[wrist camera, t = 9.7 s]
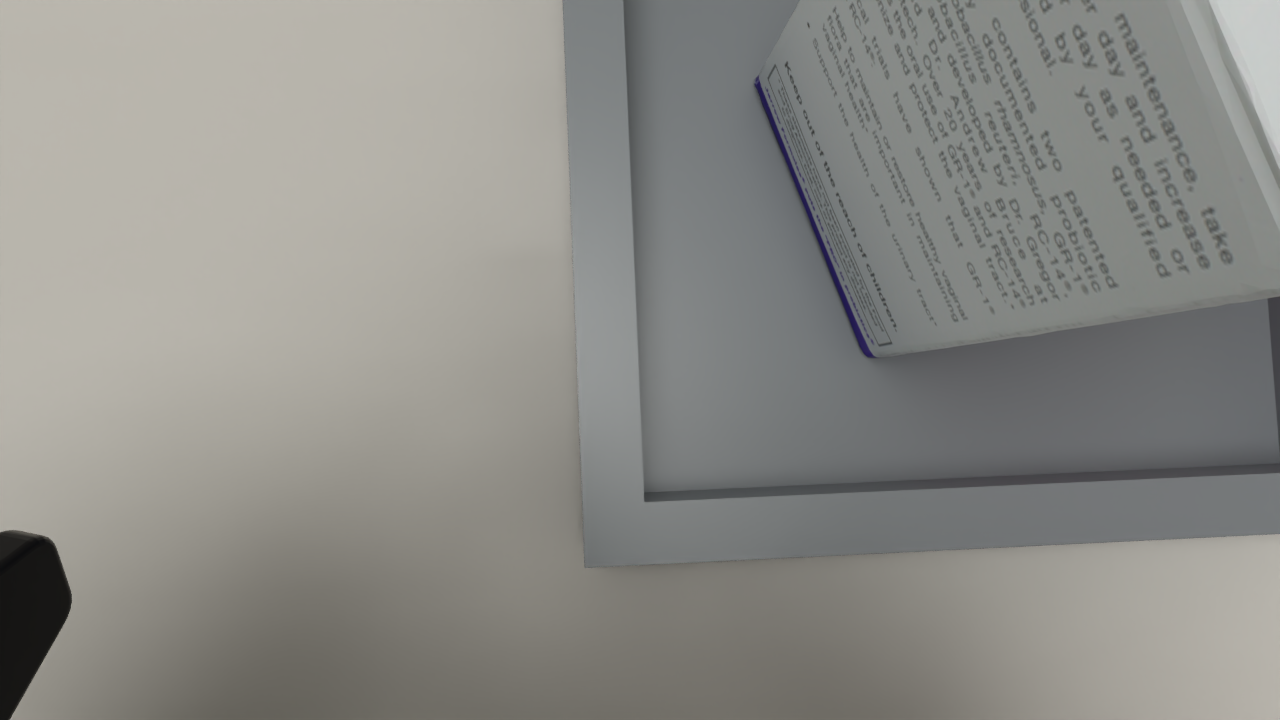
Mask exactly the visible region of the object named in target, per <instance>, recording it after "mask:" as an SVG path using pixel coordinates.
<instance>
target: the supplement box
mask: <svg viewBox="0 0 1280 720" xmlns="http://www.w3.org/2000/svg"><path fill="white" fill-rule="evenodd" d="M754 86H755V89H756V91H757V92H758V95H759V98H760V102H761V105H762V108H763V110H764V113H765V115H766V117H767V120H768V122H769V125H770V128H771V129H772V131H773V134H774V137H775V139H776V142H777V144H778V146H779V148H780V150H781V153H782V155H783V157H784V160H785V162H786V165H787V167H788V170H789V172H790V175H791V177H792V180H793V182H794V184H795V187H796V189H797V191H798V194H799V197H800V199H801V202H802V204H803V206H804V208H805V211H806V213H807V215H808V218H809V220H810V224H811V227H812V229H813V232H814V235H815V237H816V239H817V241H818V243H819V246H820V249H821V251H822V254H823V257H824V259H825V262H826V265H827V267H828V270H829V273H830V275H831V278H832V280H833V283H834V285H835V288H836V290H837V292H838V294H839V297H840V299H841V301H842V304H843V307H844V310H845V312H846V314H847V316H848V319H849V321H850V324H851V326H852V329H853V331H854V334H855V336H856V338H857V341H858V344H859V346H860V348H861V350H862V351H863V353H864V354H865V355H866V356H867V357H869V358H880V357H891V356H897V355H903V354H908V353H916V352H923V351H930V350H937V349H944V348H950V347H956V346H963V345H970V344H977V343H984V342H990V341H997V340H1003V339H1009V338H1015V337H1027V336H1034V335H1040V334H1045V333H1050V332H1055V331H1061V330H1068V329H1074V328H1081V327H1087V326H1094V325H1100V324H1107V323H1113V322H1120V321H1126V320H1132V319H1139V318H1145V317H1151V316H1157V315H1164V314H1170V313H1176V312H1182V311H1188V310H1195V309H1201V308H1207V307H1217V306H1221V305H1226V304H1233V303H1241V302H1248V301H1254V300H1260V299H1267V298H1273V297H1279V296H1280V0H800V1H799V2H798V4H797V7H796V9H795V10H794V12H793V14H792V15H791V17H790V19H789V21H788V23H787V24H786V26H785V28H784V30H783V32H782V33H781V36H780V38H779V40H778V41H777V43H776V45H775V47H774V48H773V50H772V52H771V54H770V56H769V57H768V59H767V61H766V63H765V64H764V66H763V68H762V70H761V72H760V74H759V75H758V76H757V77H756V78H755V79H754Z"/></svg>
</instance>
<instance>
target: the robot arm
mask: <svg viewBox="0 0 1280 720" xmlns="http://www.w3.org/2000/svg"><path fill="white" fill-rule="evenodd" d="M71 603H72V594H71V590H70V587H69V584H68V581H67V578H66V575H65V572H64V569H63V566H62V563H61V560H60V557H59V554H58V551H57V548H56V546H55V544H54V543H53V541H52V540H50V539H49V538H48V537H45V536H42V535H37V534H32V533H27V532H22V531H16V530H9V531H4V532H1V533H0V720H10V718H11V716H12V714H13V713H14V711H15V709H16V707H17V706H18V704H19V702H20V700H21V699H22V697H23V695H24V693H25V692H26V690H27V688H28V686H29V684H30V683H31V681H32V679H33V677H34V676H35V674H36V672H37V670H38V669H39V667H40V665H41V663H42V662H43V660H44V658H45V656H46V655H47V653H48V651H49V649H50V648H51V646H52V644H53V642H54V641H55V639H56V637H57V635H58V634H59V632H60V630H61V628H62V627H63V625H64V623H65V621H66V619H67V617H68V614H69V611H70V608H71Z"/></svg>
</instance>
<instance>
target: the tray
mask: <svg viewBox="0 0 1280 720" xmlns="http://www.w3.org/2000/svg"><path fill="white" fill-rule="evenodd" d="M799 1H800V0H563V20H564V46H565V72H566V98H567V123H568V149H569V175H570V201H571V227H572V253H573V279H574V304H575V330H576V356H577V382H578V408H579V434H580V459H581V485H582V511H583V537H584V563H585V568H593V567H613V566H634V565H654V564H675V563H695V562H715V561H736V560H756V559H777V558H797V557H818V556H838V555H858V554H879V553H899V552H920V551H940V550H961V549H981V548H1001V547H1022V546H1042V545H1063V544H1083V543H1104V542H1124V541H1144V540H1165V539H1185V538H1206V537H1226V536H1247V535H1267V534H1280V296H1279V297H1273V298H1267V299H1260V300H1254V301H1248V302H1241V303H1233V304H1226V305H1221V306H1217V307H1207V308H1201V309H1195V310H1188V311H1182V312H1176V313H1170V314H1164V315H1157V316H1151V317H1145V318H1139V319H1132V320H1126V321H1120V322H1113V323H1107V324H1100V325H1094V326H1087V327H1081V328H1074V329H1068V330H1061V331H1055V332H1050V333H1045V334H1040V335H1034V336H1027V337H1015V338H1009V339H1003V340H997V341H990V342H984V343H977V344H970V345H963V346H956V347H950V348H944V349H937V350H930V351H923V352H916V353H908V354H903V355H897V356H891V357H880V358H869V357H867V356H866V355H865V354H864V353H863V351H862V350H861V348H860V346H859V344H858V341H857V338H856V336H855V334H854V331H853V329H852V326H851V324H850V321H849V319H848V316H847V314H846V312H845V310H844V307H843V304H842V301H841V299H840V297H839V294H838V292H837V290H836V288H835V285H834V283H833V280H832V278H831V275H830V273H829V270H828V267H827V265H826V262H825V259H824V257H823V254H822V251H821V249H820V246H819V243H818V241H817V239H816V237H815V235H814V232H813V229H812V227H811V224H810V220H809V218H808V215H807V213H806V211H805V208H804V206H803V204H802V202H801V199H800V197H799V194H798V191H797V189H796V187H795V184H794V182H793V180H792V177H791V175H790V172H789V170H788V167H787V165H786V162H785V160H784V157H783V155H782V153H781V150H780V148H779V146H778V144H777V142H776V139H775V137H774V134H773V131H772V129H771V128H770V125H769V122H768V120H767V117H766V115H765V113H764V110H763V108H762V105H761V102H760V98H759V95H758V92H757V91H756V89H755V86H754V79H755V78H756V77H757V76H758V75H759V74H760V72H761V70H762V68H763V66H764V64H765V63H766V61H767V59H768V57H769V56H770V54H771V52H772V50H773V48H774V47H775V45H776V43H777V41H778V40H779V38H780V36H781V33H782V32H783V30H784V28H785V26H786V24H787V23H788V21H789V19H790V17H791V15H792V14H793V12H794V10H795V9H796V7H797V4H798V2H799Z"/></svg>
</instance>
